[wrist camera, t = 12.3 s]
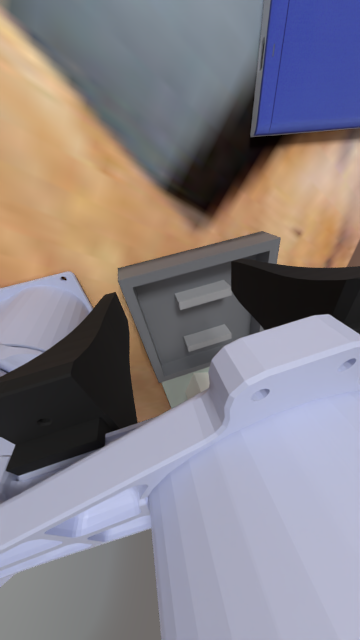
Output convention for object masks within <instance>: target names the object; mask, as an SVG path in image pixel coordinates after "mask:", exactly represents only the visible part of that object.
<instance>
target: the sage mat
mask: <svg viewBox="0 0 360 640" xmlns="http://www.w3.org/2000/svg"><path fill="white" fill-rule="evenodd" d="M209 368H210V367H207V368H204V369H201V370H198V371H195V372H192V373H189V374H186V375H183V376H180V377H176V378H173V379H170V380H167V381H164V382H161V383H162V385H163V388H164V390H165V393H166V396H167V398H168V401H169V403H170V406H171V408H173V407H175V406H177V405H179V404H181V403H182V402H184V401H186V400H188V399H187V396H186V393H185V391H186V389H187V387H188V384H189V382H190V380H191V378H192V375H193V373H204V372H208V371H209Z"/></svg>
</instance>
